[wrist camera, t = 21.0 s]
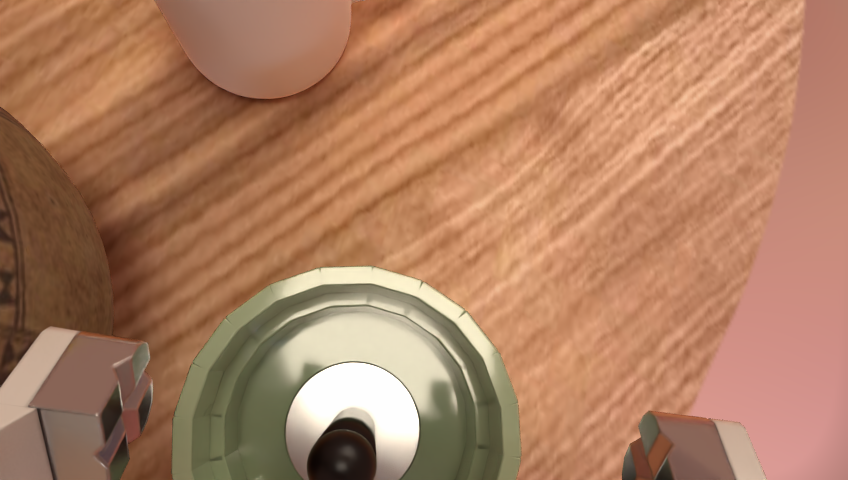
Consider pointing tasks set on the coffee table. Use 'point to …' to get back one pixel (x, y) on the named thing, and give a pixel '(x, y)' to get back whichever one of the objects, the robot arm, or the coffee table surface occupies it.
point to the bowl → (341, 342)
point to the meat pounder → (352, 425)
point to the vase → (45, 250)
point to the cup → (261, 41)
